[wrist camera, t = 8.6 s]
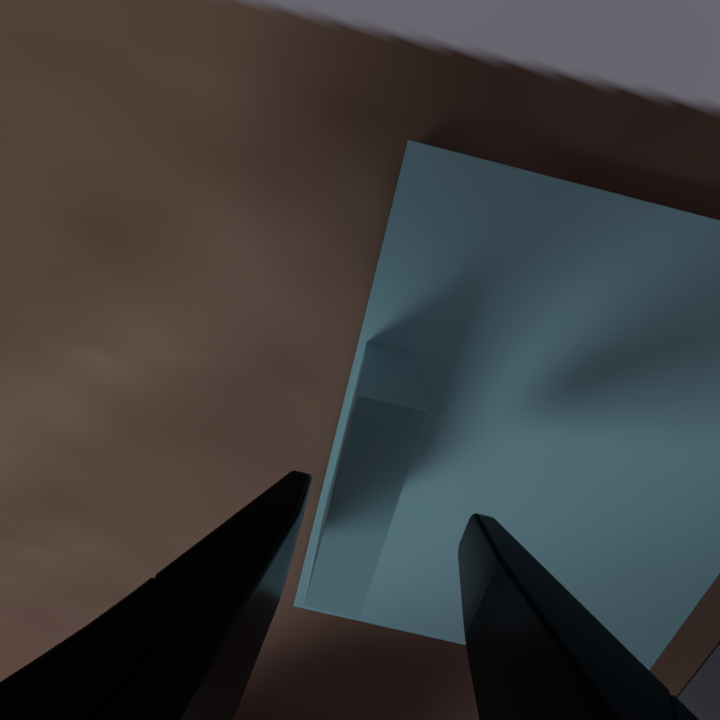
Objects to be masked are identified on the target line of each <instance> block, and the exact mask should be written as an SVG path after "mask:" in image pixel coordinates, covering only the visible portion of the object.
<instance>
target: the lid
mask: <svg viewBox="0 0 720 720" xmlns="http://www.w3.org/2000/svg"><path fill="white" fill-rule="evenodd" d="M474 513H478V514H482V515H487V516H491V517H493V518H495V519H496V520H497V521H498V522H499V523H500V524H501V525H502V526H503V527H504V528H505V529H506V530H507V531H508V532H509V533H510V534H511V535H512V536H513V537H514V538H515V539H516V540H517V541H518V542H519V543H520V544H521V545H522V546H523V547H524V548H525V549H526V550H527V551H528V552H529V553H530V554H531V555H532V556H533V557H534V558H535V559H536V560H537V561H538V562H539V563H540V564H541V565H542V566H544V567H545V568H546V569H547V570H548V571H549V572H550V573H551V574H552V575H553V576H554V577H555V578H556V579H557V580H558V581H559V582H560V583H561V584H562V585H563V586H564V587H565V588H566V589H567V590H568V591H569V592H570V593H571V594H572V595H573V596H574V597H575V598H576V599H577V600H578V601H579V602H580V603H581V604H582V605H583V606H584V607H585V608H586V609H587V610H588V611H589V612H590V613H591V614H592V615H593V616H594V617H595V618H596V619H597V620H598V621H599V622H600V623H601V624H602V625H603V626H604V627H605V628H607V629H608V630H609V631H610V632H611V633H612V634H613V635H614V636H615V637H616V638H617V639H618V640H619V641H620V642H621V643H622V644H623V645H624V646H625V647H626V648H627V649H628V650H629V651H630V652H631V653H632V654H633V655H634V656H635V657H636V658H637V659H638V660H639V661H640V662H641V663H642V664H643V665H644V666H645V667H646V668H647V669H648V670H650V669H651V667H652V666H653V665H654V663H655V662H656V660H657V659H658V658H659V656H660V655H661V654H662V652H663V651H664V649H665V648H666V647H667V645H668V644H669V642H670V641H671V640H672V638H673V637H674V636H675V634H676V633H677V631H678V630H679V629H680V627H681V626H682V624H683V623H684V622H685V620H686V619H687V618H688V616H689V615H690V613H691V612H692V611H693V609H694V608H695V607H696V605H697V604H698V602H699V601H700V600H701V598H702V597H703V595H704V594H705V593H706V591H707V590H708V589H709V587H710V586H711V584H712V583H713V582H714V580H715V579H716V578H717V576H718V575H719V573H720V220H716V219H712V218H708V217H705V216H701V215H697V214H693V213H689V212H685V211H681V210H678V209H674V208H670V207H666V206H662V205H658V204H654V203H651V202H647V201H643V200H639V199H635V198H631V197H627V196H623V195H620V194H616V193H612V192H608V191H604V190H600V189H596V188H593V187H589V186H585V185H581V184H577V183H573V182H569V181H565V180H562V179H558V178H554V177H550V176H546V175H542V174H538V173H535V172H531V171H527V170H523V169H519V168H515V167H511V166H507V165H504V164H500V163H496V162H492V161H488V160H484V159H480V158H477V157H473V156H469V155H465V154H461V153H457V152H453V151H449V150H446V149H442V148H438V147H434V146H430V145H426V144H422V143H419V142H415V141H411V140H408V142H407V146H406V150H405V154H404V158H403V162H402V166H401V170H400V174H399V178H398V182H397V187H396V191H395V195H394V199H393V203H392V207H391V211H390V215H389V219H388V223H387V227H386V231H385V235H384V239H383V243H382V247H381V252H380V256H379V260H378V264H377V268H376V272H375V276H374V280H373V284H372V288H371V292H370V296H369V300H368V304H367V308H366V313H365V317H364V321H363V325H362V329H361V333H360V337H359V341H358V345H357V349H356V353H355V357H354V361H353V365H352V369H351V373H350V378H349V382H348V386H347V390H346V394H345V398H344V402H343V406H342V410H341V414H340V418H339V422H338V426H337V430H336V434H335V439H334V443H333V447H332V451H331V455H330V459H329V463H328V467H327V471H326V475H325V479H324V483H323V487H322V491H321V495H320V499H319V504H318V508H317V512H316V516H315V520H314V524H313V528H312V532H311V536H310V540H309V544H308V548H307V552H306V556H305V560H304V565H303V569H302V573H301V577H300V581H299V585H298V589H297V593H296V597H295V602H294V606H295V607H300V608H304V609H308V610H313V611H317V612H322V613H326V614H330V615H335V616H339V617H344V618H348V619H352V620H357V621H361V622H366V623H370V624H374V625H379V626H383V627H388V628H392V629H396V630H401V631H405V632H410V633H414V634H418V635H423V636H427V637H432V638H436V639H440V640H445V641H449V642H454V643H458V644H462V645H466V641H465V634H464V624H463V613H462V601H461V588H460V576H459V564H458V547H459V543H460V540H461V538H462V535H463V533H464V530H465V528H466V525H467V523H468V521H469V518H470V517H471V515H472V514H474Z"/></svg>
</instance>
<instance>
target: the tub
mask: <svg viewBox="0 0 720 720" xmlns="http://www.w3.org/2000/svg"><path fill="white" fill-rule="evenodd" d="M678 699H679V700H680V701H681V702H682V703H683V704H684V705H685V706H686V707H687V708H688V709H689V710H690V711H691V712H692V713H693V714H694V715H695V716H696V717H697V718H698V719H699V720H720V644H719V645H718V646H717V648H716V649H715V650H714V652H713V653H712V654H711V655H710V657H709V658H708V659H707V661H706V662H705V663H704V664H703V666H702V667H701V668H700V670H699V671H698V672H697V673H696V675H695V676H694V677H693V678H692V680H691V681H690V682H689V684H688V685H687V686H686V687H685V689H684V690H683V691H682V693H681V694H680V695H679V696H678Z"/></svg>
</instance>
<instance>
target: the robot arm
mask: <svg viewBox="0 0 720 720" xmlns="http://www.w3.org/2000/svg"><path fill="white" fill-rule="evenodd" d="M311 479H312V477H311V475H310V474H307V473H302V472H298V471H291V472H290V473H288V474H287V475H286V476H285V477H283V478H282V479H281V480H279V481H278V482H277V483H275V484H274V485H273V486H271V487H270V488H269V489H267V490H266V491H265V492H264V493H262V494H261V495H260V496H258V497H257V498H256V499H254V500H253V501H252V502H250V503H249V504H248V505H246V506H245V507H244V508H243V509H241V510H240V511H239V512H237V513H236V514H235V515H233V516H232V517H231V518H229V519H228V520H227V521H225V522H224V523H223V524H222V525H220V526H219V527H218V528H216V529H215V530H214V531H212V532H211V533H210V534H208V535H207V536H206V537H204V538H203V539H202V540H201V541H199V542H198V543H197V544H195V545H194V546H193V547H191V548H190V549H189V550H187V551H186V552H185V553H183V554H182V555H181V556H180V557H178V558H177V559H176V560H174V561H173V562H172V563H170V564H169V565H168V566H166V567H165V568H164V569H162V570H161V571H160V572H159V573H157V574H156V576H155V578H150V579H149V580H148V581H146V582H145V583H144V584H142V585H141V586H140V587H138V588H137V589H136V590H135V591H133V592H132V593H131V594H129V595H128V596H127V597H125V598H124V599H122V600H121V601H120V602H118V603H117V604H116V605H114V606H113V607H111V608H110V609H109V610H107V611H106V612H105V613H103V614H102V615H100V616H99V617H98V618H96V619H95V620H94V621H92V622H91V623H89V624H88V625H86V626H85V627H83V628H82V629H80V630H79V631H77V632H76V633H74V634H73V635H71V636H70V637H68V638H67V639H65V640H64V641H62V642H61V643H59V644H58V645H56V646H55V647H53V648H52V649H50V650H49V651H47V652H46V653H44V654H43V655H41V656H40V657H38V658H37V659H35V660H34V661H32V662H31V663H29V664H28V665H26V666H24V667H23V668H21V669H20V670H18V671H17V672H15V673H14V674H12V675H10V676H9V677H7V678H6V679H4V680H3V681H1V682H0V720H233V719H234V716H235V713H236V711H237V708H238V706H239V703H240V701H241V698H242V696H243V693H244V690H245V688H246V685H247V683H248V680H249V678H250V675H251V673H252V670H253V667H254V665H255V662H256V660H257V657H258V655H259V652H260V649H261V647H262V644H263V642H264V639H265V637H266V634H267V632H268V629H269V626H270V624H271V621H272V619H273V616H274V614H275V611H276V609H277V606H278V603H279V600H280V598H281V595H282V592H283V588H284V585H285V582H286V578H287V574H288V570H289V567H290V563H291V559H292V555H293V552H294V548H295V544H296V540H297V537H298V533H299V529H300V525H301V522H302V518H303V514H304V510H305V506H306V501H307V497H308V493H309V488H310V484H311ZM458 564H459V576H460V588H461V601H462V613H463V624H464V634H465V641H466V647H467V653H468V659H469V664H470V670H471V676H472V681H473V687H474V692H475V698H476V703H477V709H478V714H479V720H699V719H698V718H697V717H696V716H695V715H694V714H693V713H692V712H691V711H690V710H689V709H688V708H687V707H686V706H685V705H684V704H683V703H682V702H681V701H680V700H679V699H678V698H677V697H676V696H674V695H670V693H669V690H668V689H667V688H666V687H665V686H664V685H663V684H662V683H661V682H660V681H659V680H658V679H657V678H656V677H655V676H654V675H653V674H652V673H651V672H650V671H649V670H648V669H647V668H646V667H645V666H644V665H643V664H642V663H641V662H640V661H639V660H638V659H637V658H636V657H635V656H634V655H633V654H632V653H631V652H630V651H629V650H628V649H627V648H626V647H625V646H624V645H623V644H622V643H621V642H620V641H619V640H618V639H617V638H616V637H615V636H614V635H613V634H612V633H611V632H610V631H609V630H608V629H607V628H605V627H604V626H603V625H602V624H601V623H600V622H599V621H598V620H597V619H596V618H595V617H594V616H593V615H592V614H591V613H590V612H589V611H588V610H587V609H586V608H585V607H584V606H583V605H582V604H581V603H580V602H579V601H578V600H577V599H576V598H575V597H574V596H573V595H572V594H571V593H570V592H569V591H568V590H567V589H566V588H565V587H564V586H563V585H562V584H561V583H560V582H559V581H558V580H557V579H556V578H555V577H554V576H553V575H552V574H551V573H550V572H549V571H548V570H547V569H546V568H545V567H544V566H542V565H541V564H540V563H539V562H538V561H537V560H536V559H535V558H534V557H533V556H532V555H531V554H530V553H529V552H528V551H527V550H526V549H525V548H524V547H523V546H522V545H521V544H520V543H519V542H518V541H517V540H516V539H515V538H514V537H513V536H512V535H511V534H510V533H509V532H508V531H507V530H506V529H505V528H504V527H503V526H502V525H501V524H500V523H499V522H498V521H497V520H496V519H495V518H493V517H491V516H487V515H482V514H478V513H474V514H472V515H471V517H470V518H469V521H468V523H467V525H466V528H465V530H464V533H463V535H462V538H461V540H460V543H459V547H458Z"/></svg>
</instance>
